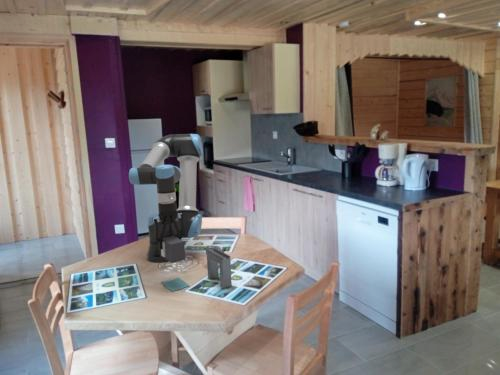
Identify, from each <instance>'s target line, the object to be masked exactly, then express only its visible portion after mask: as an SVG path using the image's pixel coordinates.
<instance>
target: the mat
mask: <svg viewBox="0 0 500 375" xmlns="http://www.w3.org/2000/svg"><path fill="white" fill-rule="evenodd" d="M161 284H163V285H164V286H165V287H166V288H167V289H168V290H169V291H171V292H177V291H180V290H183V289H186V288H190V286H191V285H189V284H188V283H186V282H185V281H184V280H183V279H181V278H180V277H177V278H173V279H169V280H165V281H161Z"/></svg>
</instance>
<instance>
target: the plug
mask: <svg viewBox="0 0 500 375" xmlns="http://www.w3.org/2000/svg"><path fill="white" fill-rule="evenodd" d="M163 241H164V242H165V255H166V257H164V258H165V259H167V260H168V261H167V262H170V263H171V264H174V263H178V262H182V261H186V248H185V241H184V240H182V239H179V238H177V237H175V236H172V237H167V238H163ZM162 257H163V256H162Z"/></svg>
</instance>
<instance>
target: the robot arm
mask: <svg viewBox="0 0 500 375" xmlns="http://www.w3.org/2000/svg"><path fill="white" fill-rule="evenodd" d="M203 155H204V148H203V143H202V138H201V136H200V134H197V133H184V134H183V133H180V134H179V133H178V134H168V135H165V136H162V137H160V138H159V139H158V140H156V141H155V142H154V143H153V145H152V146H151V148H150V152H149V153H148V154H147V155H146V157H145V158H144V160H143V161H142V163H140V165H139V166H138V167H137V166H135V167H131V168H130V169H129V172H128V180H129V182H130V184H132V185H137V186H142V185H156V192H157V202H158V204H157V205H158V206H157V207H158V212H154V213H152V214H150V215H149V216H148V217H147V227H148V239H149V241H148V242H149V246H148V250H147V254H146V257H147V258H146V259H147V261H149V262H151V263H152V262H153V263H165V262H166V263H167V262H169V261H168V260H167V259H165V258H164V257H166V255H165V242H164V241H163V238H167V237H172V236H175V237H177V238H179V239H181V240H182V239H185V238H187V239H188V238H189V239H190V238H197V237H198V236H199V235H200V232H202V231H201V230H202V224H203V216H202V214H200V211H199V209H197V169H198V168H197V163H198V162H199V161H200V158H201V157H203ZM170 157H171V158H172V157H174V158H175V157H176V159H177V161H178V162H179V167H178V166H175V165H173V164H163V162H164V161H165V160H166V159H168V158H170ZM178 182H179V186H178V187H179V189H178V190H179V191H178V207H177V195H176V183H178ZM162 256H163V257H162Z"/></svg>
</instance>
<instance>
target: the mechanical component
mask: <svg viewBox="0 0 500 375" xmlns="http://www.w3.org/2000/svg"><path fill="white" fill-rule="evenodd" d="M213 248H216V249H218V250H219V251H221V252H223V253H225V252H226V251H227V249H226V247H225V246H222V247H221V248H220V249H219V246H218V245H206V246H204V247H203V249H204V250H203V251H205V254H206V255H207V251H206V250H209V251H211V250H213Z"/></svg>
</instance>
